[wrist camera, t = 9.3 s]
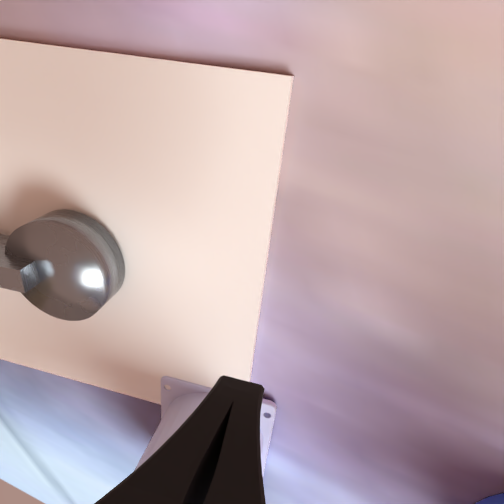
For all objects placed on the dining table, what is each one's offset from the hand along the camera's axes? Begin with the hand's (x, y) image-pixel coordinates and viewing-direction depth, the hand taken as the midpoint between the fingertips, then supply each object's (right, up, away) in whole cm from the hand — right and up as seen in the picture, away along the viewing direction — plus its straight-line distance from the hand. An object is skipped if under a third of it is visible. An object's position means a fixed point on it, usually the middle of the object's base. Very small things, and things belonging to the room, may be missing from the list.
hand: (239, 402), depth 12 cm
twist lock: (-13, +5, +11) cm, 18 cm away
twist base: (-10, +5, +11) cm, 15 cm away
